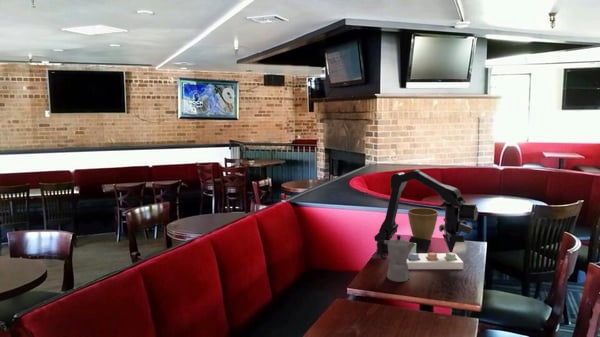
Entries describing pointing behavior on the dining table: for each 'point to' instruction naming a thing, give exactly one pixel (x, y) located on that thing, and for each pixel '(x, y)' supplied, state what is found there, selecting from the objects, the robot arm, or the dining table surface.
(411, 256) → the slate blue button
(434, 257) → the terracotta button
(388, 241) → the coffeepot
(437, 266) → the button panel
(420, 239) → the handheld gaming console
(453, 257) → the sage green button
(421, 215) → the plant pot
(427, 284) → the dining table surface
